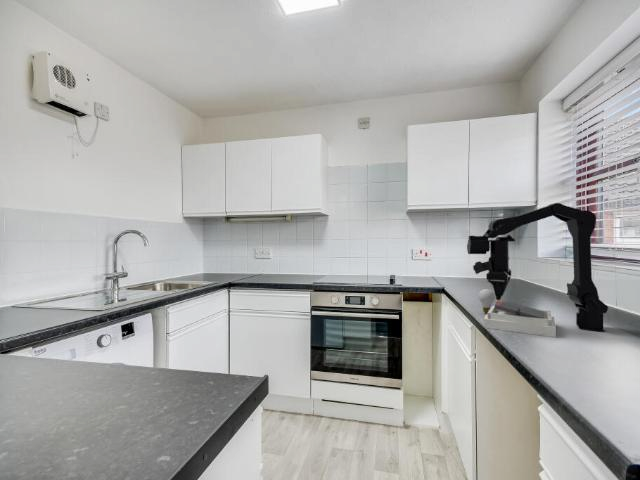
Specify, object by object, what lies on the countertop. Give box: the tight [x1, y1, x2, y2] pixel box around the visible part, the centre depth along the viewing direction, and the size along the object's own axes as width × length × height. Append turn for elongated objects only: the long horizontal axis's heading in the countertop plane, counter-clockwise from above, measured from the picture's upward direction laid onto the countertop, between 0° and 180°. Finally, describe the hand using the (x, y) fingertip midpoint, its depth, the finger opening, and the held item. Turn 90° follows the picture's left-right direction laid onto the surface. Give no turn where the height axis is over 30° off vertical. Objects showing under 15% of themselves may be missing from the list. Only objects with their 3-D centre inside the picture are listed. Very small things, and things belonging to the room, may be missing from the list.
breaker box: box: [483, 305, 557, 338], centre depth 111 cm, size 20×16×5 cm
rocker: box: [494, 299, 545, 319], centre depth 111 cm, size 14×12×1 cm
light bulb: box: [478, 288, 496, 315], centre depth 130 cm, size 6×6×10 cm
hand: (499, 297), depth 115 cm, fingers open, 9 cm apart
